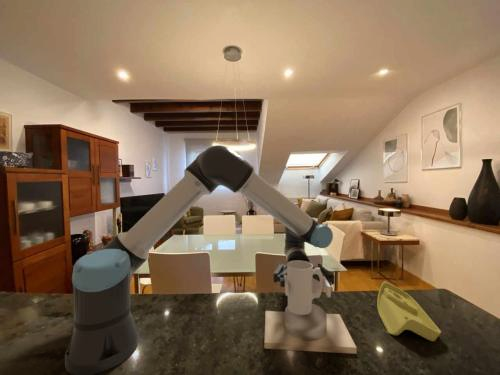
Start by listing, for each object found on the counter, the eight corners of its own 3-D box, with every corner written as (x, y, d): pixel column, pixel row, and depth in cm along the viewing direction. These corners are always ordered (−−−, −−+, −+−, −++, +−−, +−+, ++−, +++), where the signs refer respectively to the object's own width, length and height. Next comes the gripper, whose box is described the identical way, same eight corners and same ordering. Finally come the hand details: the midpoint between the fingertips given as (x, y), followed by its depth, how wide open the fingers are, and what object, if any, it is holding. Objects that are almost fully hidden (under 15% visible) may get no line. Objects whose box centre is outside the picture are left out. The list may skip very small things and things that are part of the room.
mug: (290, 316, 59) (290, 269, 59) (284, 302, 66) (284, 260, 65) (328, 314, 60) (329, 268, 59) (318, 301, 66) (319, 259, 66)
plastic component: (445, 336, 58) (406, 315, 60) (429, 358, 60) (391, 337, 61) (409, 293, 77) (380, 278, 79) (397, 310, 79) (369, 296, 80)
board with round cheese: (264, 348, 57) (264, 326, 57) (265, 315, 71) (265, 298, 71) (356, 353, 55) (356, 331, 55) (339, 319, 69) (339, 301, 69)
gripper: (330, 272, 80) (353, 307, 58) (265, 270, 82) (263, 304, 60) (330, 251, 80) (354, 277, 58) (265, 249, 82) (263, 275, 60)
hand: (308, 291), depth 59 cm, fingers closed on mug, 10 cm apart
